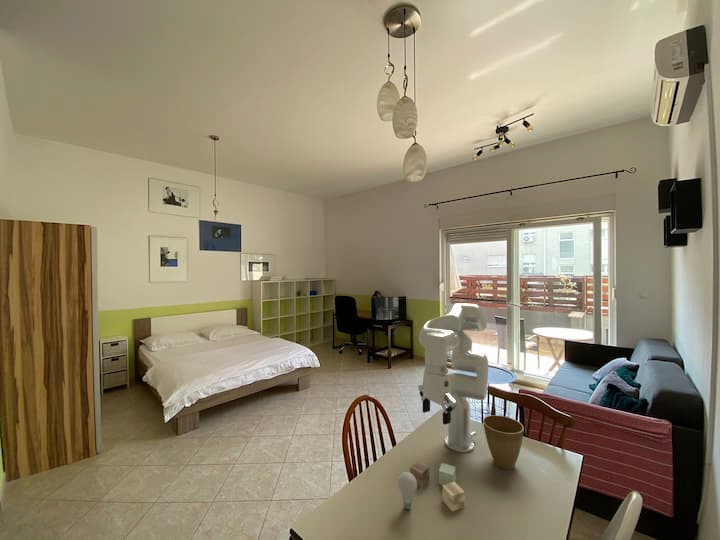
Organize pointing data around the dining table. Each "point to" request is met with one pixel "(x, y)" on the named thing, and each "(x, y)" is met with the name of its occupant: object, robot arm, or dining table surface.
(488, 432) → the plant pot
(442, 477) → the sage cube
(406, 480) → the lightbulb
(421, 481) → the walnut cube
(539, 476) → the dining table surface
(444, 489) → the beech cube
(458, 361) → the robot arm
